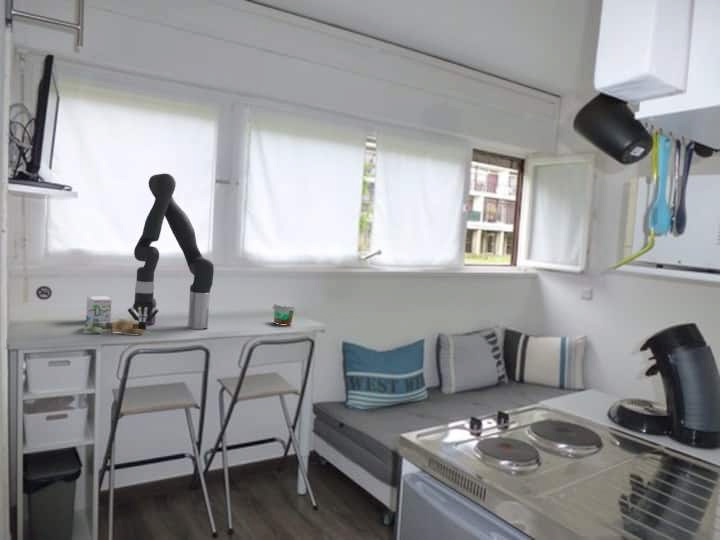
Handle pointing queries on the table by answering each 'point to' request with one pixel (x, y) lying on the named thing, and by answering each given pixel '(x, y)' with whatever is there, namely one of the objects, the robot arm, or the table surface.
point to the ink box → (99, 308)
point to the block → (122, 324)
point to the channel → (97, 326)
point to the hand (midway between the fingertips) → (142, 329)
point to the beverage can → (150, 314)
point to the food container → (283, 314)
